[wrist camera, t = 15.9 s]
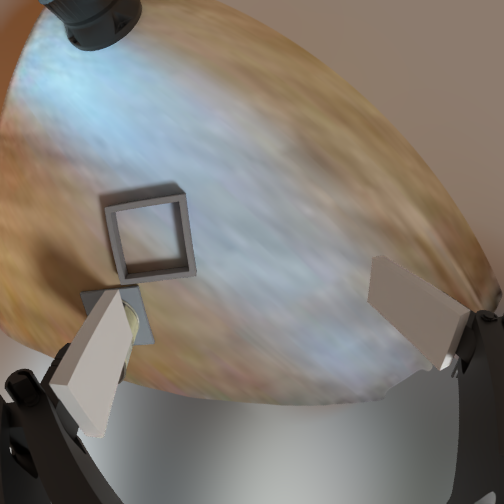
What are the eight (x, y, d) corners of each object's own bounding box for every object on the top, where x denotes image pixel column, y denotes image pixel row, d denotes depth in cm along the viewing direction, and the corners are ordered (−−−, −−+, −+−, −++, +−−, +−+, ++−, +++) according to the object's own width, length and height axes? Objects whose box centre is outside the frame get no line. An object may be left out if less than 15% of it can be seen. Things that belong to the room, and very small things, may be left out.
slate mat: (81, 291, 46) (79, 293, 45) (138, 285, 47) (137, 287, 47) (100, 344, 50) (99, 346, 49) (154, 341, 52) (154, 343, 51)
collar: (109, 205, 42) (104, 207, 40) (185, 192, 44) (184, 194, 42) (124, 279, 47) (121, 285, 44) (196, 270, 48) (196, 276, 46)
